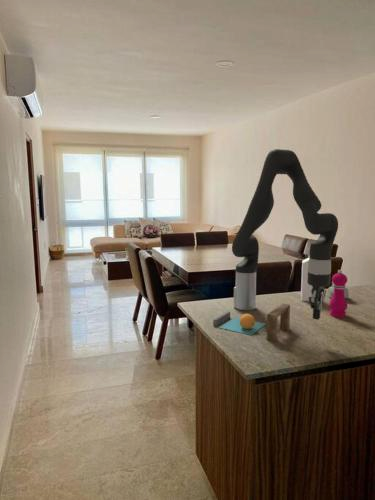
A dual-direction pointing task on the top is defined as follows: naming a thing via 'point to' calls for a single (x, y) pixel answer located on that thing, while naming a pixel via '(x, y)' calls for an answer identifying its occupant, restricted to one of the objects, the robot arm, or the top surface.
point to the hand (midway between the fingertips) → (316, 318)
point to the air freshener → (331, 291)
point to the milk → (305, 282)
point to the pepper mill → (338, 295)
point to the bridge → (272, 320)
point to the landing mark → (236, 327)
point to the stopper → (221, 318)
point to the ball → (247, 321)
